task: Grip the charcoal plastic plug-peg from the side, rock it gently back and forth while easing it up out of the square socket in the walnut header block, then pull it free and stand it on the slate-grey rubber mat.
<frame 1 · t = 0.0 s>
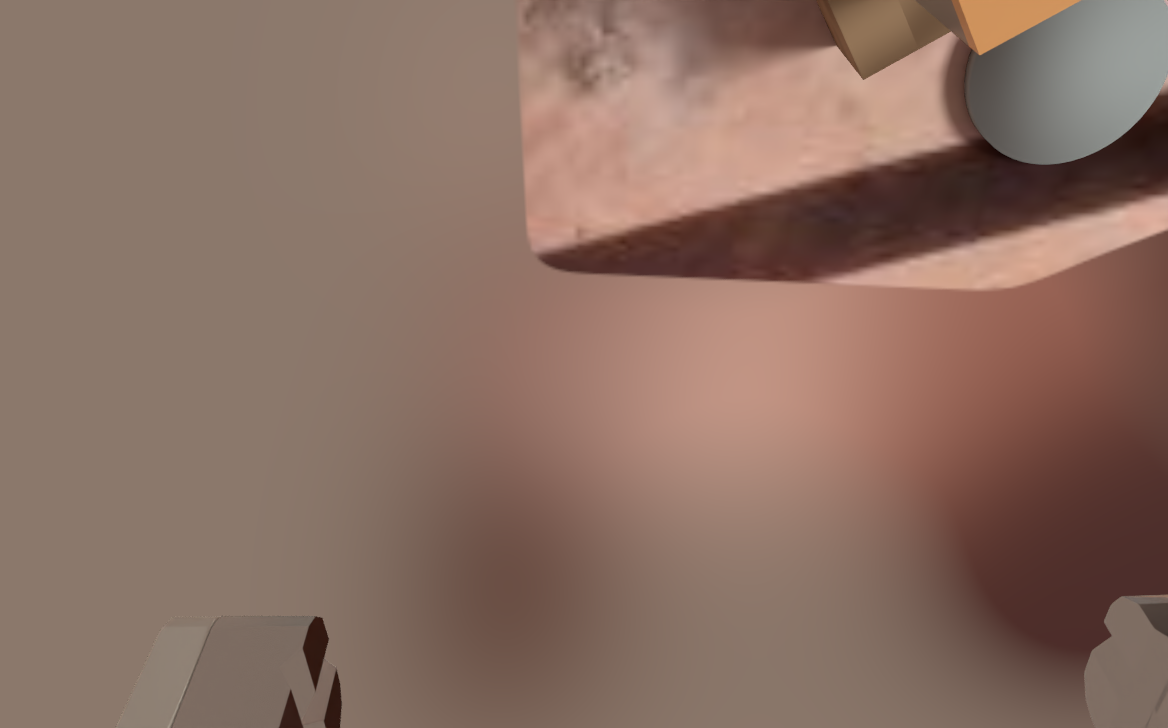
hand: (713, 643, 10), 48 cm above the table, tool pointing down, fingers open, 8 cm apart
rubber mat: (1063, 66, 55), on the table
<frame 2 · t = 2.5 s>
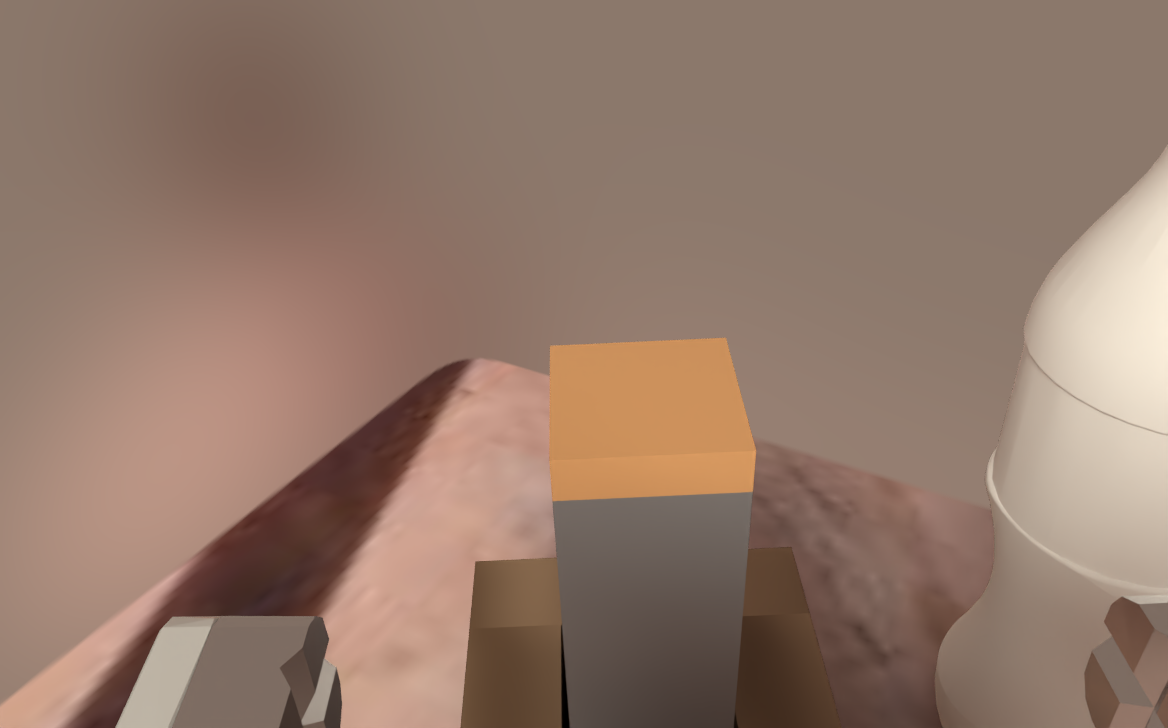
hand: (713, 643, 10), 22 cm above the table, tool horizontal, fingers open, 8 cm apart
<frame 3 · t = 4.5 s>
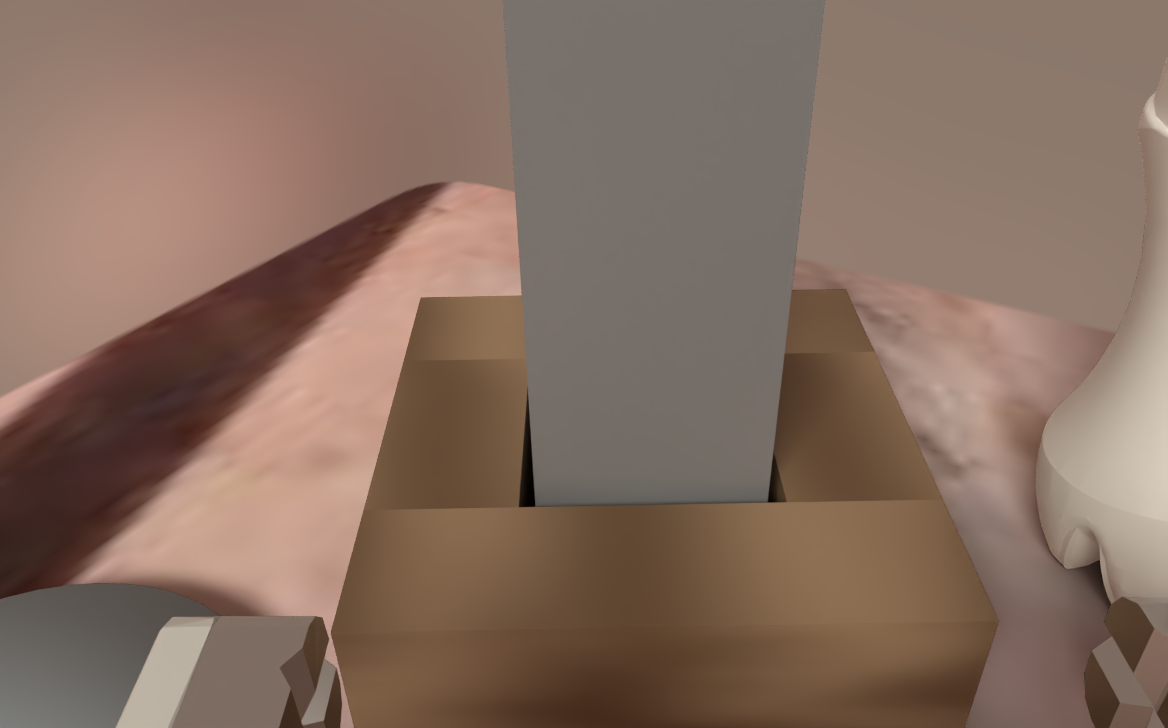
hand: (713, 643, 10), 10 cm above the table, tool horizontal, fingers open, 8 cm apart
water bottle: (1160, 569, 25), on the table
plug peg: (641, 587, 23), point 1 cm above the table, touching header block
header block: (641, 616, 24), on the table
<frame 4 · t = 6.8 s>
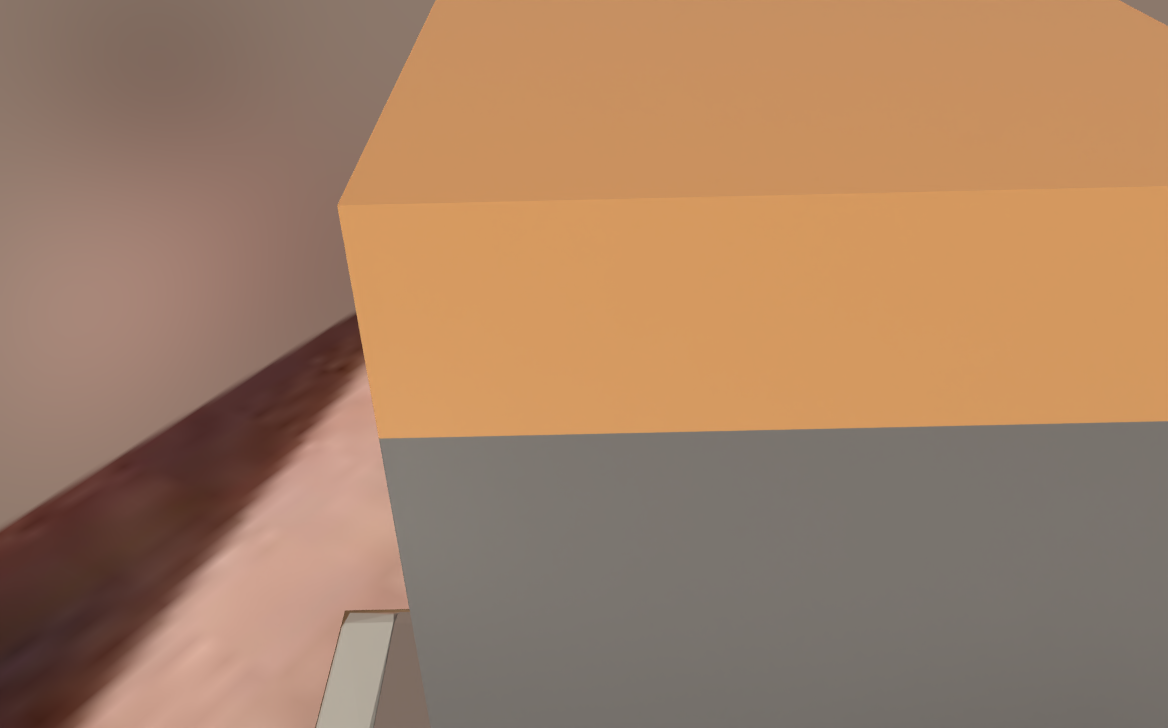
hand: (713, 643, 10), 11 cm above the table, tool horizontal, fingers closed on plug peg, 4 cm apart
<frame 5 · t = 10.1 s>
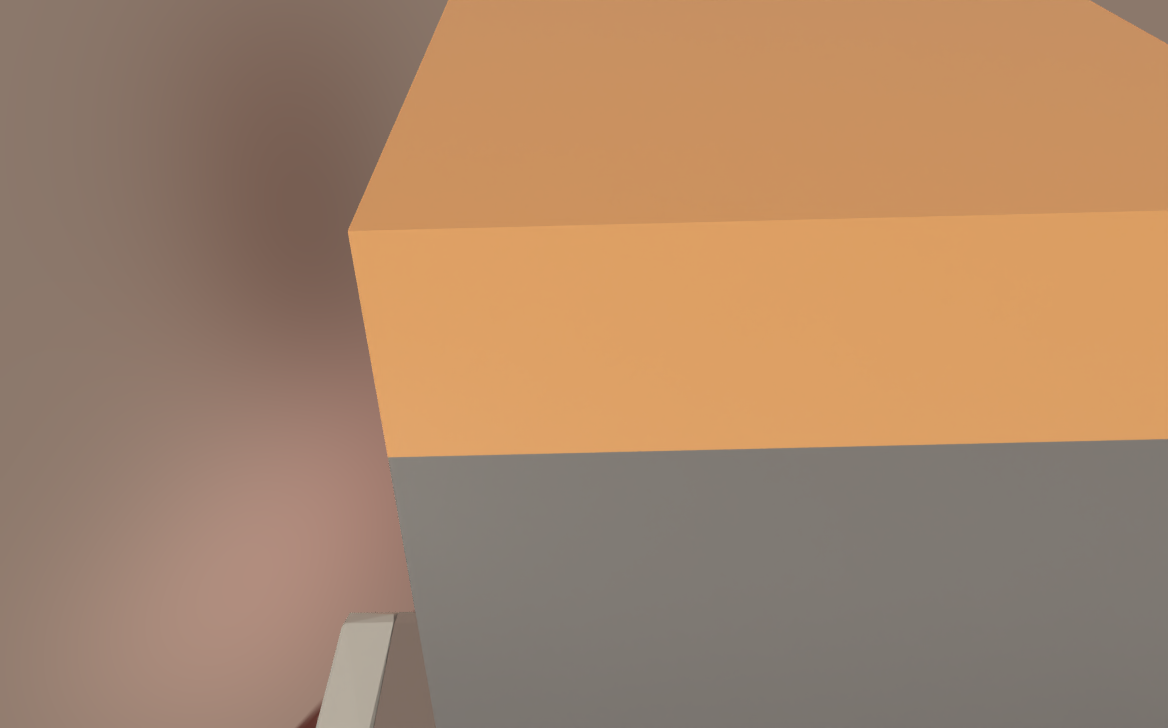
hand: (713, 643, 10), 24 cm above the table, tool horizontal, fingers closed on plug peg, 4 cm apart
when the fingers open (12 cm above the table, at t = 13.2 s): plug peg drops 1 cm, resting on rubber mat.
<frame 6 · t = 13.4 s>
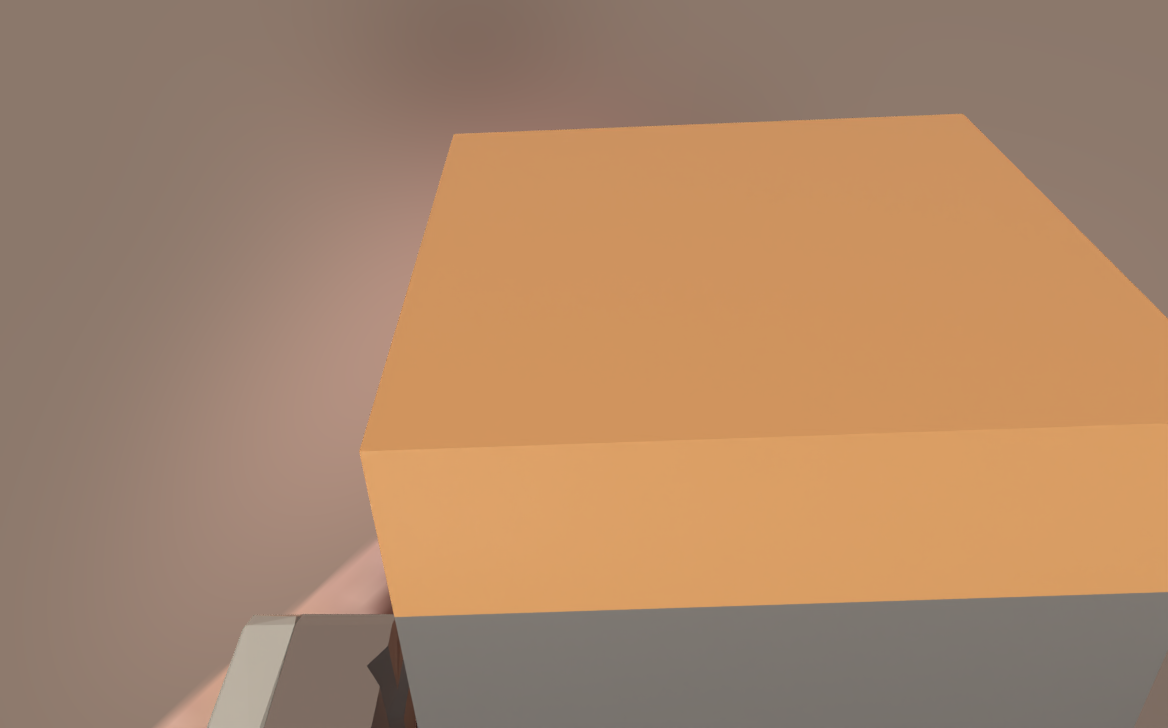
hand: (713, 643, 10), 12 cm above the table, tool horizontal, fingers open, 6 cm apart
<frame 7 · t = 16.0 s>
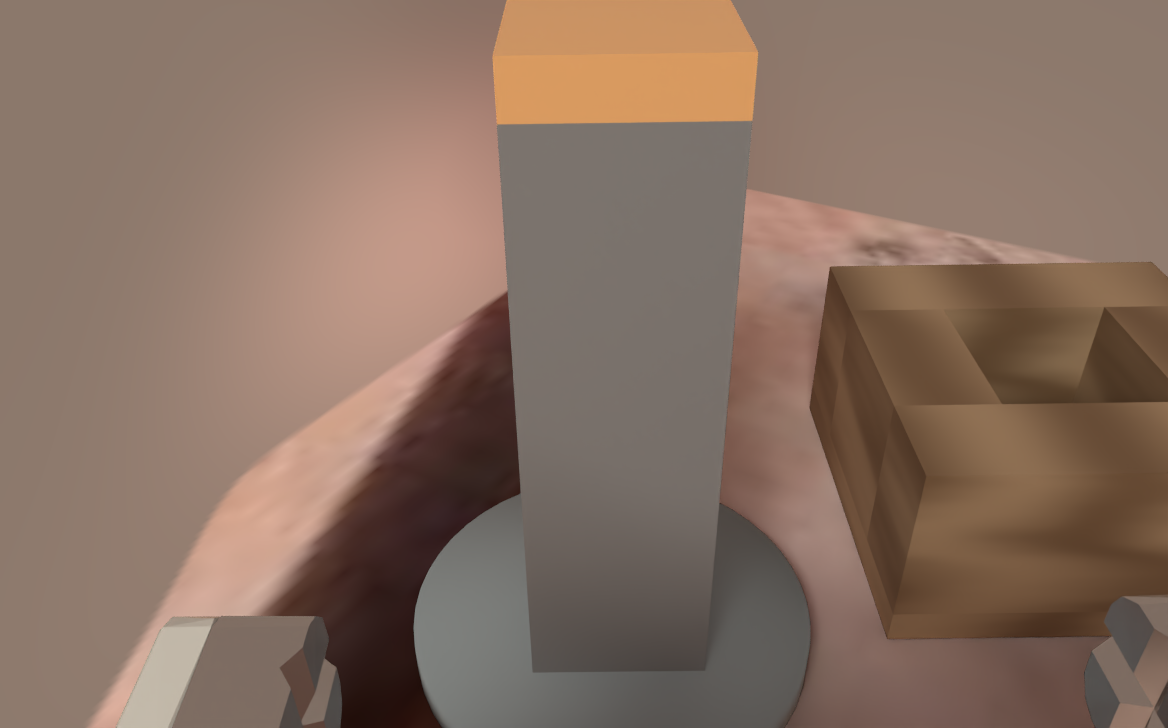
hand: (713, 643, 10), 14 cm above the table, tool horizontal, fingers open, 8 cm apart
plug peg: (615, 605, 27), point 1 cm above the table, touching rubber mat
header block: (1009, 504, 32), on the table
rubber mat: (610, 629, 28), on the table
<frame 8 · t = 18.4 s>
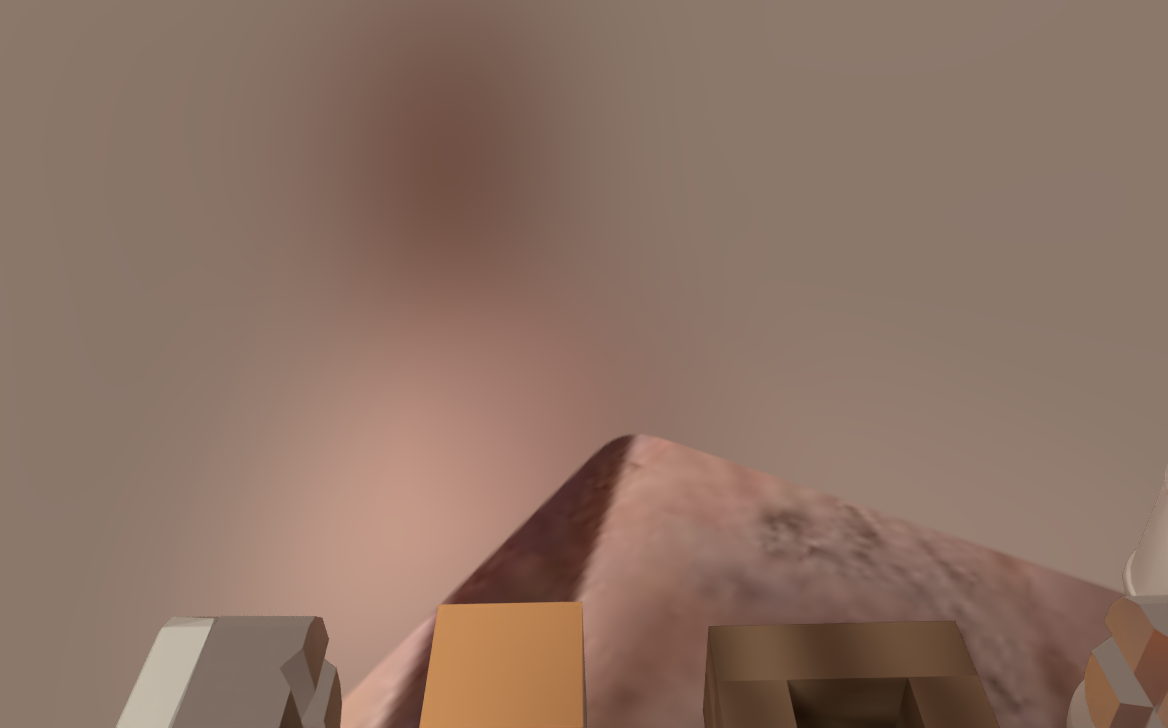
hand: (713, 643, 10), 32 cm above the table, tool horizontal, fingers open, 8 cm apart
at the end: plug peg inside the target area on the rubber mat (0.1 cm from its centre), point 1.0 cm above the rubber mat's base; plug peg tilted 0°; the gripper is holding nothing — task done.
